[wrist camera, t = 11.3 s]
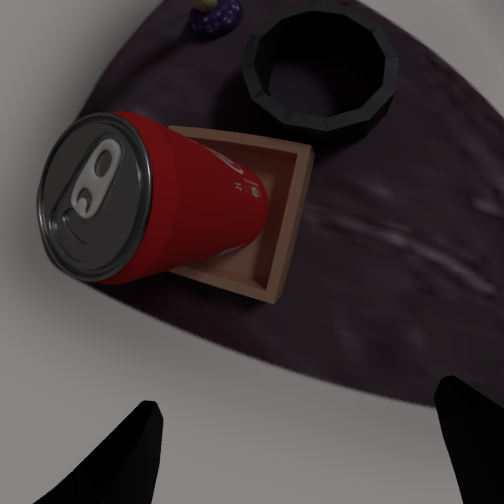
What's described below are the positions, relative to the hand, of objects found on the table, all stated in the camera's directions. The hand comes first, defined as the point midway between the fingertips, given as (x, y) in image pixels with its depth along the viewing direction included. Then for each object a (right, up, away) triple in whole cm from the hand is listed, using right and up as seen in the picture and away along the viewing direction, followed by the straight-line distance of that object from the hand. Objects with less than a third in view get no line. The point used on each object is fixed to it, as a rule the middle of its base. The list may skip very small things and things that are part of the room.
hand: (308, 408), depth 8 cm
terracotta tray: (-3, +7, +11) cm, 14 cm away
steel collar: (+3, +15, +9) cm, 18 cm away
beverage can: (-3, +7, +11) cm, 13 cm away
